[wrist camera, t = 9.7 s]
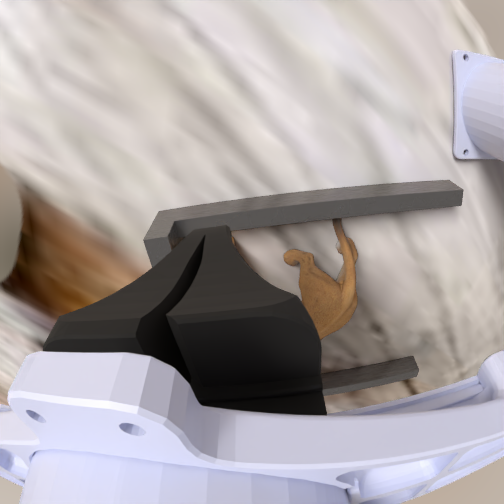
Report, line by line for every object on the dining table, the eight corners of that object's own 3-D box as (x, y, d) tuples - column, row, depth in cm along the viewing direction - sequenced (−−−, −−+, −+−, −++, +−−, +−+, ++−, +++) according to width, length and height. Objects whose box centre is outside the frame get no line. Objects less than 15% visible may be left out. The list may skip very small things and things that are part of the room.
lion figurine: (288, 354, 29) (299, 439, 21) (232, 343, 28) (230, 432, 20) (366, 216, 22) (420, 295, 14) (297, 191, 21) (328, 269, 13)
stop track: (449, 180, 20) (479, 201, 17) (410, 362, 31) (422, 391, 27) (158, 211, 21) (143, 240, 18) (217, 391, 32) (215, 423, 28)
